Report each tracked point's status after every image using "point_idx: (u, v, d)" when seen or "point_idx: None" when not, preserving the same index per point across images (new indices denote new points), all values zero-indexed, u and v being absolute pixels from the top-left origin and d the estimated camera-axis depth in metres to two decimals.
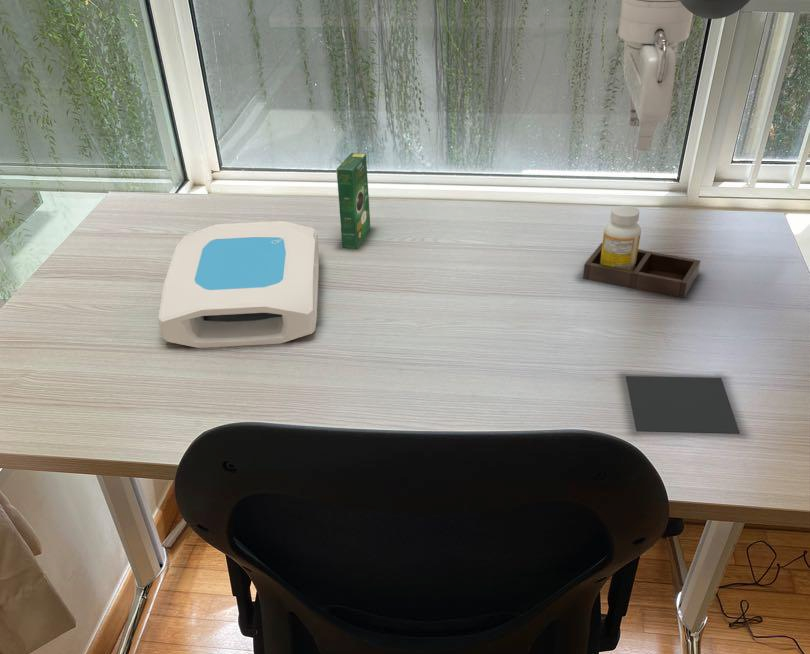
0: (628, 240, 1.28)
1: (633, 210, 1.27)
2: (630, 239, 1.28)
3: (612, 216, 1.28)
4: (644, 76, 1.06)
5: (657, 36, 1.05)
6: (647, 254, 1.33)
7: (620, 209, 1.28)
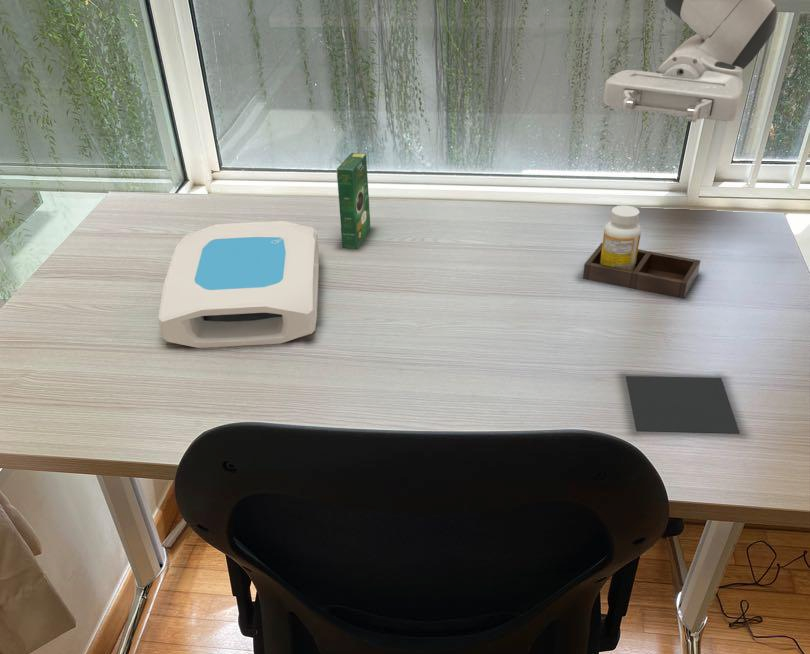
0: (628, 240, 1.28)
1: (633, 210, 1.27)
2: (630, 239, 1.28)
3: (612, 216, 1.28)
4: None
5: None
6: (647, 254, 1.33)
7: (620, 209, 1.28)
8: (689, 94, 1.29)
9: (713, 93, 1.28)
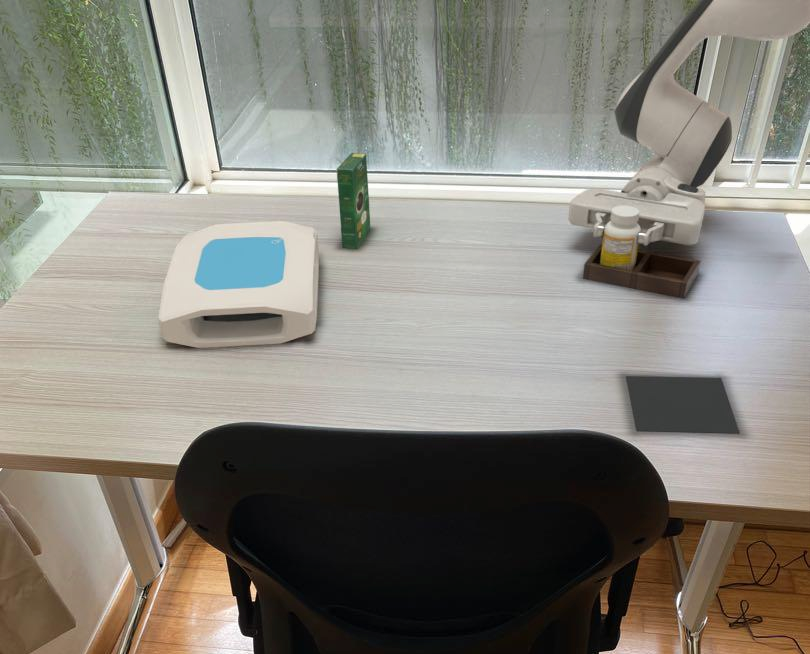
0: (628, 240, 1.28)
1: (633, 210, 1.27)
2: (630, 239, 1.28)
3: (612, 216, 1.28)
4: None
5: None
6: (647, 254, 1.33)
7: (620, 209, 1.28)
8: (651, 218, 1.30)
9: (674, 218, 1.29)
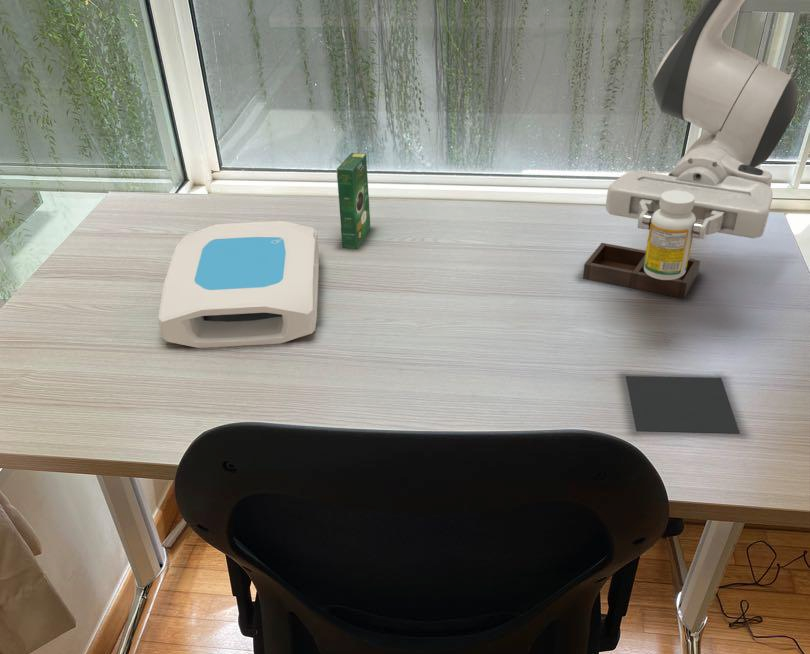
0: (681, 232, 1.05)
1: (687, 196, 1.05)
2: (684, 230, 1.05)
3: (662, 203, 1.05)
4: None
5: None
6: None
7: (671, 195, 1.06)
8: (708, 206, 1.08)
9: (737, 206, 1.07)
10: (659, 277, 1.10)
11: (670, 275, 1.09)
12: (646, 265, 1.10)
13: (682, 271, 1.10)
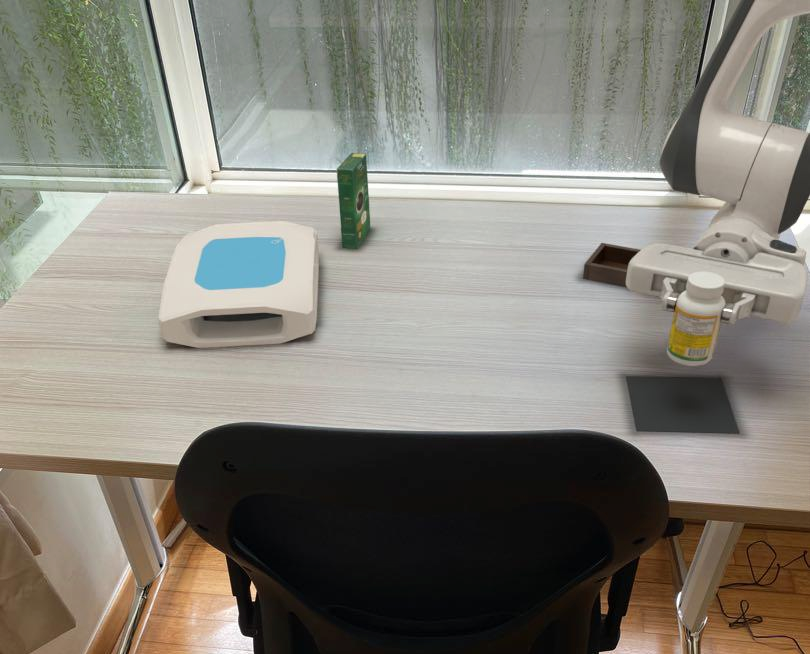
0: (710, 318, 0.97)
1: (716, 279, 0.97)
2: (712, 316, 0.97)
3: (689, 286, 0.97)
4: None
5: None
6: None
7: (699, 277, 0.97)
8: (738, 288, 1.00)
9: (770, 289, 0.98)
10: (684, 363, 1.01)
11: (696, 361, 1.01)
12: (670, 349, 1.02)
13: (709, 357, 1.01)
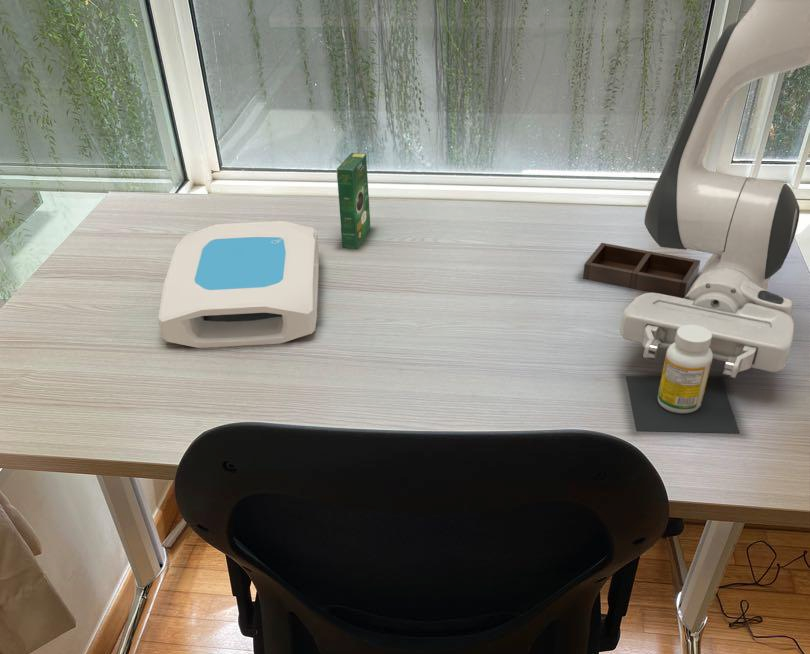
0: (698, 369, 1.02)
1: (704, 332, 1.01)
2: (700, 368, 1.02)
3: (677, 340, 1.01)
4: None
5: None
6: (647, 254, 1.33)
7: (687, 330, 1.02)
8: (727, 338, 1.04)
9: (757, 340, 1.03)
10: (674, 411, 1.06)
11: (685, 409, 1.05)
12: (660, 397, 1.07)
13: (698, 405, 1.06)
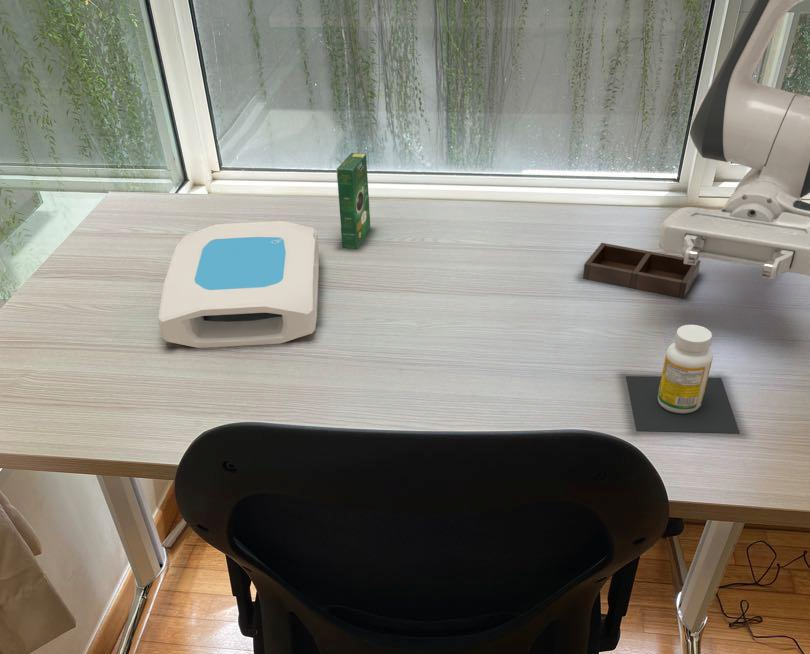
0: (698, 369, 1.02)
1: (704, 332, 1.01)
2: (700, 368, 1.02)
3: (677, 340, 1.01)
4: None
5: None
6: (647, 254, 1.33)
7: (687, 330, 1.02)
8: (765, 243, 1.08)
9: (795, 243, 1.06)
10: (674, 411, 1.06)
11: (685, 409, 1.05)
12: (660, 397, 1.07)
13: (698, 405, 1.06)
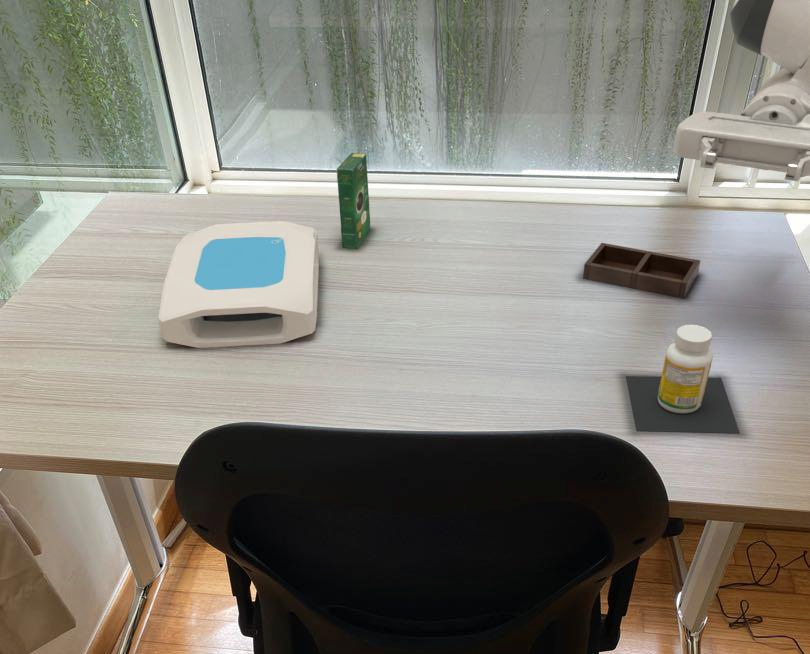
0: (698, 369, 1.02)
1: (704, 332, 1.01)
2: (700, 368, 1.02)
3: (677, 340, 1.01)
4: None
5: None
6: (647, 254, 1.33)
7: (687, 330, 1.02)
8: (788, 144, 1.00)
9: None
10: (674, 411, 1.06)
11: (685, 409, 1.05)
12: (660, 397, 1.07)
13: (698, 405, 1.06)
